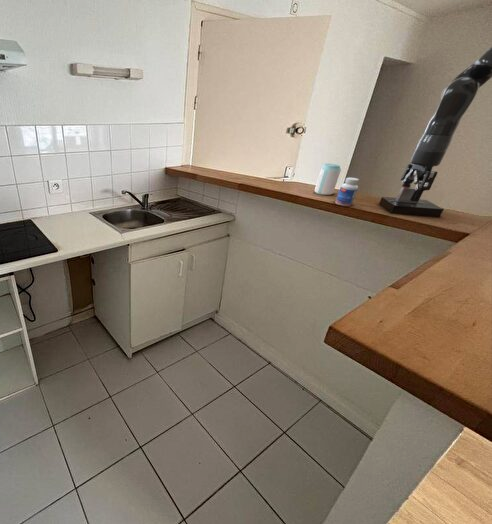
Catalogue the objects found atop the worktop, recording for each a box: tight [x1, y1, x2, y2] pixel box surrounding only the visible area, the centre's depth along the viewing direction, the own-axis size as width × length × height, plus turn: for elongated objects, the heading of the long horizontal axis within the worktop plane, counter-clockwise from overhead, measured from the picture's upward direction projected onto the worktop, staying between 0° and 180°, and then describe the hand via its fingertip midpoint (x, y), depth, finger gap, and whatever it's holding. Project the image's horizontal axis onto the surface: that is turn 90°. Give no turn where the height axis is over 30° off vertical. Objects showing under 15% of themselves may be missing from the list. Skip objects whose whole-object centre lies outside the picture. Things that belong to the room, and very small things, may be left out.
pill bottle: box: [334, 177, 360, 207], centre depth 107 cm, size 6×5×10 cm
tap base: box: [378, 196, 445, 219], centre depth 102 cm, size 14×11×3 cm
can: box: [314, 163, 342, 196], centre depth 119 cm, size 7×7×12 cm
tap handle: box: [395, 186, 418, 203], centre depth 100 cm, size 6×2×5 cm, turn 73°
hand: (407, 197), depth 101 cm, fingers open, 8 cm apart
